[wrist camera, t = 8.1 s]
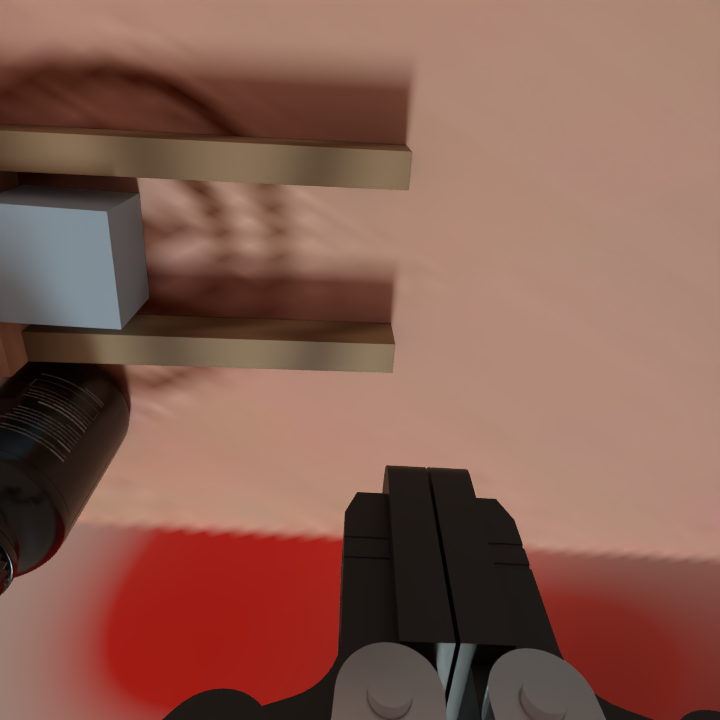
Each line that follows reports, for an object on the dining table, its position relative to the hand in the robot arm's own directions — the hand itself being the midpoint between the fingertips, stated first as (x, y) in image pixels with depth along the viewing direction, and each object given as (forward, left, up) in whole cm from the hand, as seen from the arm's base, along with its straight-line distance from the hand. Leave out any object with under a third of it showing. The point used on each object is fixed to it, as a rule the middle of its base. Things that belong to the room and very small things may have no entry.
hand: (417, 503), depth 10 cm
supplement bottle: (+16, +9, -18) cm, 26 cm away
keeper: (+13, 0, -18) cm, 22 cm away
